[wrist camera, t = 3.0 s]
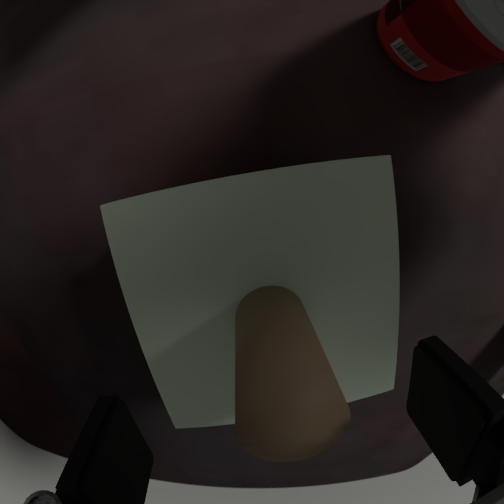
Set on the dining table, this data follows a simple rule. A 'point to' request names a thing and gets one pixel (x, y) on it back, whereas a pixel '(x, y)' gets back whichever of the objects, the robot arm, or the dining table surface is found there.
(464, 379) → the robot arm
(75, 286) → the dining table surface
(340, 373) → the lid
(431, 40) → the canned food
